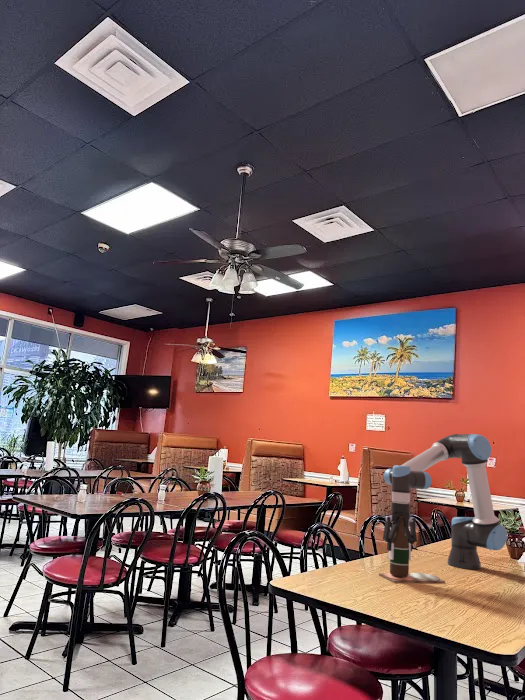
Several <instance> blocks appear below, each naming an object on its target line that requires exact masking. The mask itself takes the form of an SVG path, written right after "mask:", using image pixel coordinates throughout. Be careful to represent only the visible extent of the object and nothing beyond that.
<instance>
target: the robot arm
mask: <svg viewBox="0 0 525 700" xmlns="http://www.w3.org/2000/svg"><path fill="white" fill-rule="evenodd" d="M491 455H492V446H491V443H490V441H489V440H488V439H487V437H485V436H484V435H483V434H476V433H454V434H450V435H447V436H445V437H443V438H440V439H439V440H437V441H435V442H433V444H432V445H431V447H430V448H427V449H426V450H424V451H422V452H421V453H419V454H418V455H415V456H414V457H412V458H411V459H409V460H407V461H406V462H404V463H403V464H401V465H393V466H392V468H388V469H386V470H385V471H384V472H383V479H384V482H385V484H387V485H388V486H391V505H390V506H391V508H390V510H391V514H390V515H385V516H384V521H385V522H384V528H383V534H382V535H383V537H382V540H383V541H385V542H386V549H387V551H388V559H389V560H390V559H391V560H393V556H394V543H392V541H393V538H394V535H395V533H396V530H397V528H398V526H399V523H400V522H401V517H399V516H400V515H404V529H405V536H406V537H407V539H408V542H409V561H411V559H412V554H411V553H412V552H413V545H414V543H417V541H418V539H417V529H416V519H417V518H416V517H413V516H410V513H411V511H410V510H411V507H410V506H411V505H410V502H411V489H413V490H414V489H416V490H427V489H429V488H430V487H431V486H432V477H431V475H430V473H429V472H426V471H427V469H429V468H431V467H432V466H435V465H436V464H437V463H438V464H439V462H443V461H446V460H448V459H453V458H454V459H460V460H461V464H462V465H463V466H464V467H466V473H467V474H466V476H467V479H468V480H467V481H468V485H469V490H470V496H471V501H472V506H473V513H474V516H473V517H472V516H471V517H469V516H467V517H466V516H454V517H452V519H451V524H450V525H451V526H450V528H451V530H450V531H451V533H450V534H451V540H450V541H451V548H450V551H449V554H448V558H447V564H448V565H449V566H452V567H455V568H459V569H460V568H461V569H466V570H467V569H468V570H481V569H482V566H481V565H482V564H481V560H480V556H479V554H478V548H482V549H486V550H489V551H500V550H502V549H503V548H505V545H506V543H507V540H508V532H507V529H506V527H505V526H504V525H502V524H501V523H500V519H499V518H498V517H497V516H496V515H495V511H494V505H493V500H492V495H491V489H490V484H489V479H488V472H487V467H486V465H487V463H488V462H489V461H488V460H489V459H490V457H491ZM391 521H392V522H391Z"/></svg>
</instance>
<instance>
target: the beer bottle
mask: <svg viewBox="0 0 525 700" xmlns="http://www.w3.org/2000/svg"><path fill="white" fill-rule="evenodd" d="M399 517H401V522H400V523H399V526H398V528H397V530H396V533H395V535H394V538H393V541H392V543H394V556H393V560H391V559H389V573H390V574H392V575H394V576H399V577H407V576H408V574H410V573H409V572H410V562H409V561H410V560H409V542H408V539H407V537H406V535H405V529H404V515H400V516H399Z"/></svg>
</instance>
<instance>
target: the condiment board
mask: <svg viewBox="0 0 525 700" xmlns="http://www.w3.org/2000/svg"><path fill="white" fill-rule="evenodd" d="M378 576H380V577H381V578H383V579H385V580H387V581H389V582H391V583H393V584H446V580H443V579H441V578H440V577H438V576H437V575H434V574H431V573H424V572H412V573H411V572H410V573H408V576H407V577H399V576H394V575H392V574H390V572H385V573H380V572H379V573H378Z"/></svg>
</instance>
